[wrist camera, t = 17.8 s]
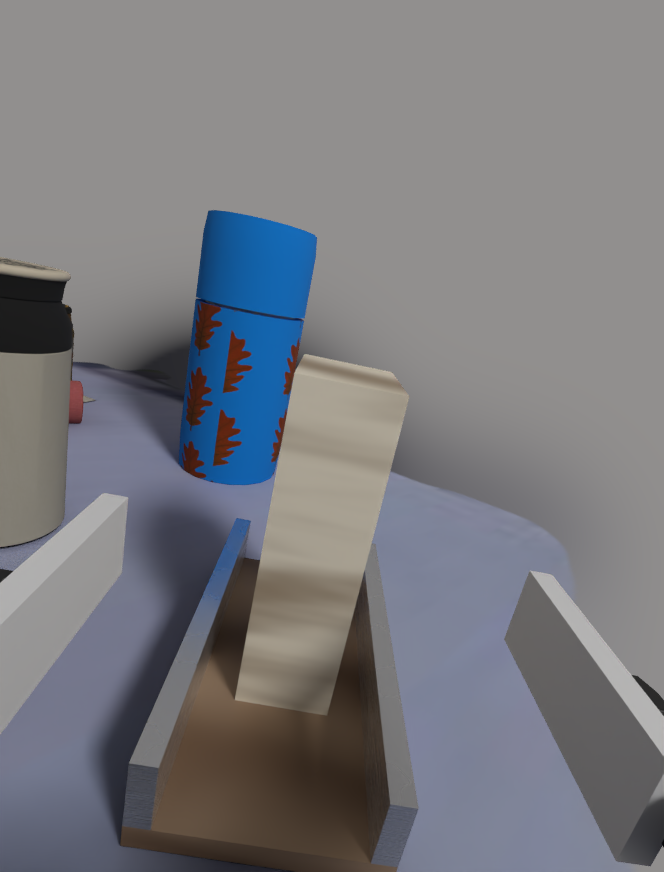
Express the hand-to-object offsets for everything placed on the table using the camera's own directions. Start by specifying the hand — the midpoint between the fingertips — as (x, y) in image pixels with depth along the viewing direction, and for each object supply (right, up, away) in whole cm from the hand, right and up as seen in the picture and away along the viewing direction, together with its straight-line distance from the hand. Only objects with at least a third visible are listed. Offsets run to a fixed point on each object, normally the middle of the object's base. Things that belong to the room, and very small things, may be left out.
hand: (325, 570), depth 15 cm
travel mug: (-24, -2, +19) cm, 30 cm away
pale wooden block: (-2, -8, +10) cm, 13 cm away
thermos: (-11, +1, +37) cm, 39 cm away
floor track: (-2, -9, +11) cm, 14 cm away
